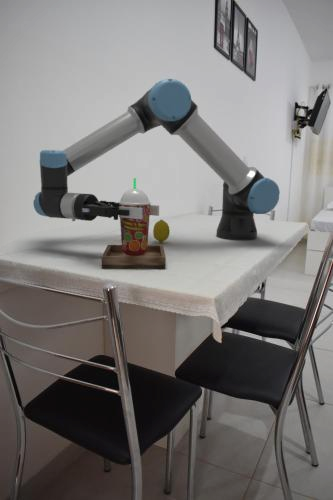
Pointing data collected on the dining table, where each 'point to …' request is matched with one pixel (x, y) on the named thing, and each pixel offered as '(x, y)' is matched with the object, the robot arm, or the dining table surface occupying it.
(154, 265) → the walnut tray
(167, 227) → the lemon
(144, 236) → the smoothie
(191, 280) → the dining table surface
